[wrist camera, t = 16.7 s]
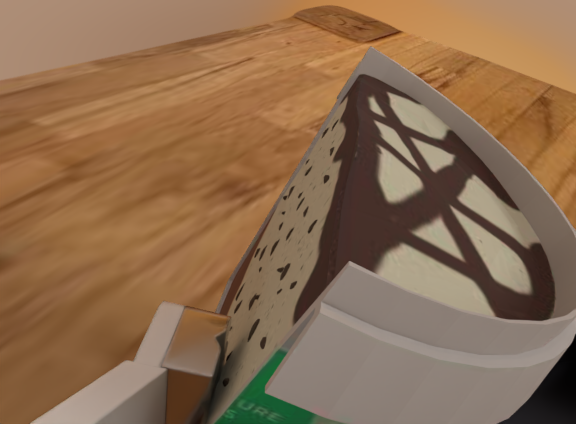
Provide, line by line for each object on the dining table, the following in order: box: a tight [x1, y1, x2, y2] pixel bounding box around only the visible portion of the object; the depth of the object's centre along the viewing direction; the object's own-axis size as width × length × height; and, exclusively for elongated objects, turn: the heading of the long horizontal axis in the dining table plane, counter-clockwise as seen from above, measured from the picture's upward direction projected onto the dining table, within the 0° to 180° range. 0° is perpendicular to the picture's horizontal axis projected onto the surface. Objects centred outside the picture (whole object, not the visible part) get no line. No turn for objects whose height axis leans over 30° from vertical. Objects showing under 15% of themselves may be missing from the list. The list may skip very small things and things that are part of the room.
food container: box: [206, 46, 576, 424], centre depth 14 cm, size 12×6×10 cm, turn 169°
